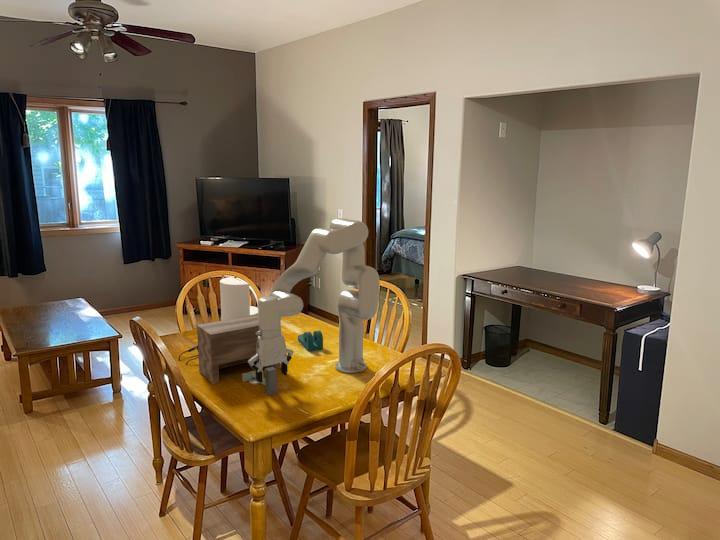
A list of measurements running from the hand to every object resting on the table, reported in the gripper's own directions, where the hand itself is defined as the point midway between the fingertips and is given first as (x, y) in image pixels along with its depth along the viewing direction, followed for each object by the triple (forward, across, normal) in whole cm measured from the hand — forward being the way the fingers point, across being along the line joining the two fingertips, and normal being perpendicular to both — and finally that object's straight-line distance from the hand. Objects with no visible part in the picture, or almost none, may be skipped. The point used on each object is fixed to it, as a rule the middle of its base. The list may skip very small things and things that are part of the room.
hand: (272, 377), depth 191 cm
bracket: (+7, +37, +36) cm, 52 cm away
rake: (+6, -1, +7) cm, 9 cm away
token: (+6, -1, +12) cm, 13 cm away
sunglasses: (+6, -11, +47) cm, 49 cm away
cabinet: (+6, -1, +26) cm, 27 cm away
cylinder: (+6, +14, +58) cm, 60 cm away
